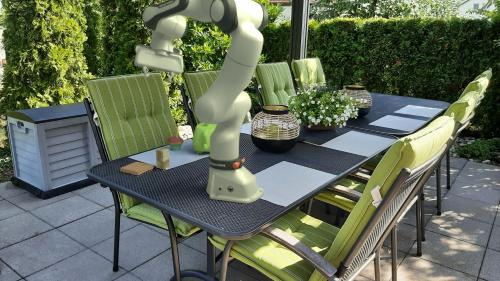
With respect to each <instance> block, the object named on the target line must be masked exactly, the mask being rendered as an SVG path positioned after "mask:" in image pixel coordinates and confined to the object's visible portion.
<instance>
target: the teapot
mask: <svg viewBox="0 0 500 281" xmlns="http://www.w3.org/2000/svg"><path fill="white" fill-rule="evenodd" d="M216 125H217V124H204V123H202V122H200V123H198V124H197V125H196V126H195V128H194V132H193V134H192V142H191V144H192V147H193V149H194V150H195V152H196V154H197V153H202V154H203V153H204V152H206V153H207V152H209V153H210V135H211V134H212V132H213V131H214V130H215V128H216Z"/></svg>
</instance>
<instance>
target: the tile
mask: <svg viewBox="0 0 500 281" xmlns="http://www.w3.org/2000/svg"><path fill="white" fill-rule="evenodd" d="M154 166H155V165H153V164H149V163H145V162H140V161H135V162H132V163H129V164H127V165H125V166H122V167H120V172H121V171H122V172H127V173H131V174H134V175H140V174H142V173H144V172H146V171H148V170H151V169H153V168H154ZM151 171H152V170H151ZM134 175H133V176H134ZM142 175H143V174H142ZM140 176H141V175H140Z"/></svg>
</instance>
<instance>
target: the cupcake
mask: <svg viewBox="0 0 500 281" xmlns="http://www.w3.org/2000/svg"><path fill="white" fill-rule="evenodd" d="M175 134H176V135H174V136H170V137H168V138H167V140H166V144H168V145H169V147H170V149H172V150H171V151H173V150H178V151H181V149H182V146H183V144H184V139H183V138H182V137H181V136H179V135H178V134H179V128H177V129H176V133H175Z"/></svg>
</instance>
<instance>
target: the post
mask: <svg viewBox="0 0 500 281" xmlns="http://www.w3.org/2000/svg"><path fill="white" fill-rule="evenodd" d="M155 158H156V169H157V168H160V169H163V170H162V171H165V170H164V169H166V168H168V169H170V168H169V167H170V149H169V148H165V147H161V148H160V147H159V148H157V149H155ZM166 170H167V169H166Z"/></svg>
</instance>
